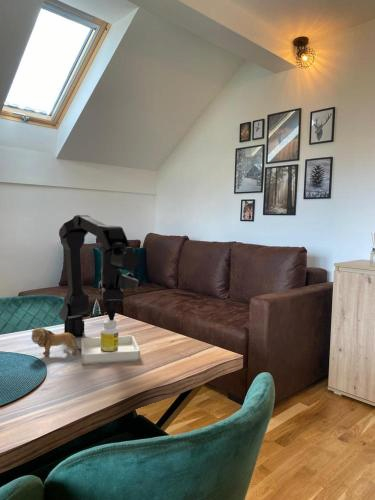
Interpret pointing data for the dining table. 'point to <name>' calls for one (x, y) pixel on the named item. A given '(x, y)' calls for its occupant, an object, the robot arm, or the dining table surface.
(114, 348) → the supplement bottle
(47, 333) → the lion figurine
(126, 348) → the tray
